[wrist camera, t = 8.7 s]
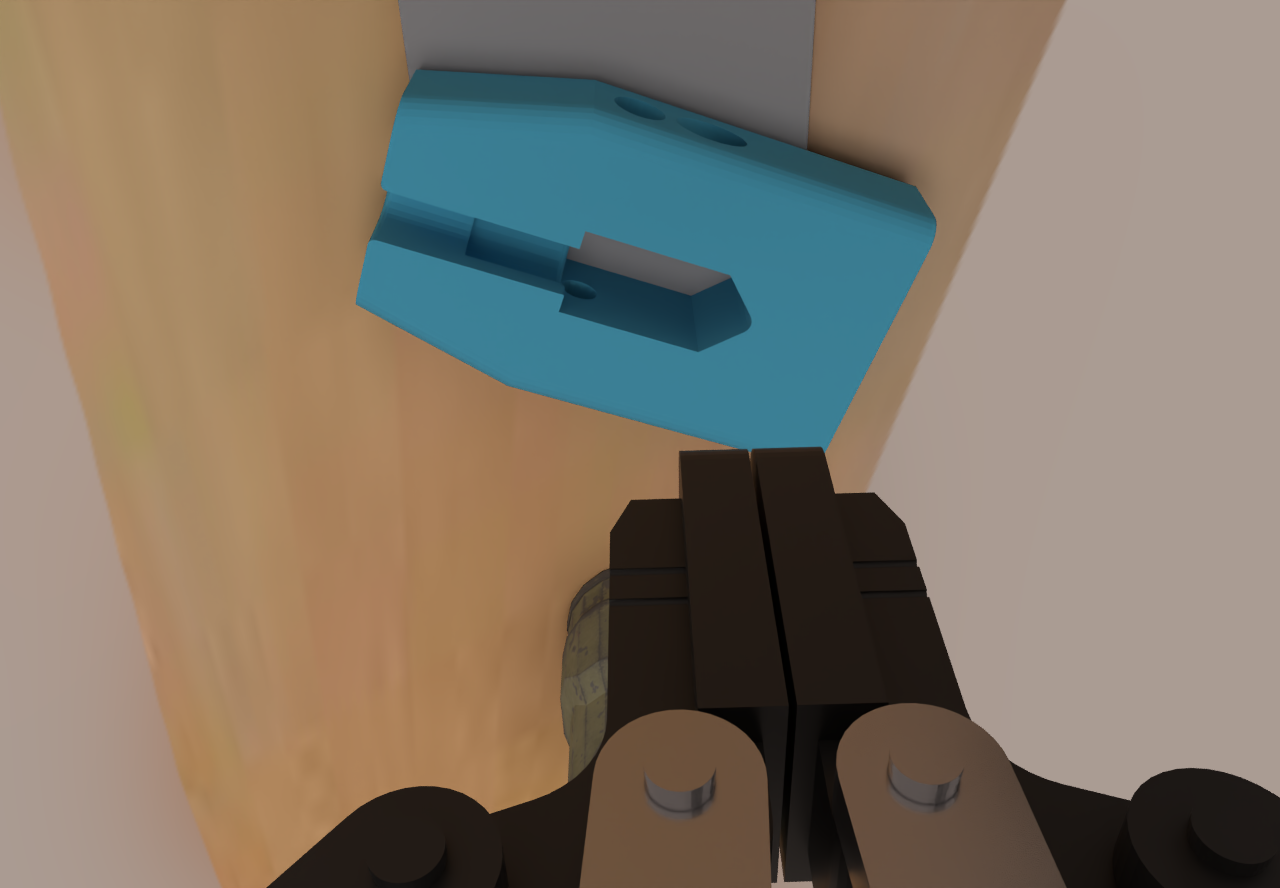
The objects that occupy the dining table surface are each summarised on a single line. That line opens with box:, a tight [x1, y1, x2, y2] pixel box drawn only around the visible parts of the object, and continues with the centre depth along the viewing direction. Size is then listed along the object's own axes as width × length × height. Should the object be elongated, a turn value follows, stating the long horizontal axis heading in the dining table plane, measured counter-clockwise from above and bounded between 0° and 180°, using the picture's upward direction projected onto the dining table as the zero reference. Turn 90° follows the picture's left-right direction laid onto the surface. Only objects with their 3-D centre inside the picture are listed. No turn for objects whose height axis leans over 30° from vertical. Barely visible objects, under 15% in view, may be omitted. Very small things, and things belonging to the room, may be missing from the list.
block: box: [356, 69, 936, 453], centre depth 45 cm, size 12×5×20 cm
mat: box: [398, 0, 816, 296], centre depth 44 cm, size 16×16×1 cm
